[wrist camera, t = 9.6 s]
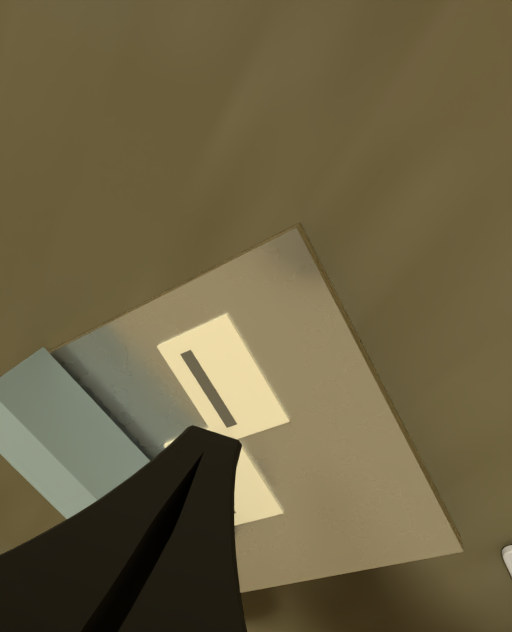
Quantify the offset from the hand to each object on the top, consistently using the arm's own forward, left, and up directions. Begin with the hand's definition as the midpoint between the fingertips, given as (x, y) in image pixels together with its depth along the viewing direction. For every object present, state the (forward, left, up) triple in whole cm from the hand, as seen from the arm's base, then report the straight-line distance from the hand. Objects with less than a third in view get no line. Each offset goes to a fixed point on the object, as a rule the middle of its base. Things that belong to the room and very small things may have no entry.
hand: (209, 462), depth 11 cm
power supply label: (-2, +4, -9) cm, 10 cm away
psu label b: (-7, +7, -9) cm, 14 cm away
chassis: (-6, +5, -10) cm, 13 cm away
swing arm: (-5, +11, -9) cm, 15 cm away
